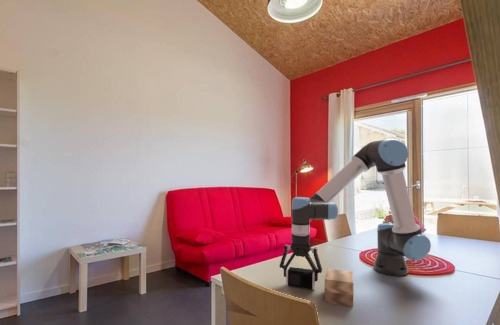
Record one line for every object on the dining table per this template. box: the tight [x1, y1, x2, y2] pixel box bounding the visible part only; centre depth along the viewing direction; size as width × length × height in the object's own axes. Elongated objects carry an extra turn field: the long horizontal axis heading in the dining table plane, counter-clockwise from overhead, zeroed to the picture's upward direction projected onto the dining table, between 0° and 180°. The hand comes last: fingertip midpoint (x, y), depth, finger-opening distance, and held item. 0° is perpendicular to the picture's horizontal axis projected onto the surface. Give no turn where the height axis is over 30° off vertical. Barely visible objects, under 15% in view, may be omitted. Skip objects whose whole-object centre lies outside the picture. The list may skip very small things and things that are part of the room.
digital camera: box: [287, 266, 314, 290], centre depth 121 cm, size 10×5×7 cm, turn 70°
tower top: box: [324, 268, 354, 296], centre depth 112 cm, size 10×12×4 cm
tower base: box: [324, 282, 355, 307], centre depth 112 cm, size 10×12×4 cm
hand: (300, 286), depth 121 cm, fingers closed on digital camera, 10 cm apart
